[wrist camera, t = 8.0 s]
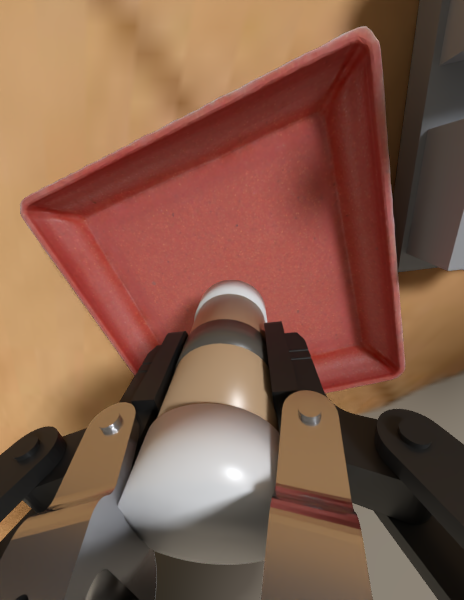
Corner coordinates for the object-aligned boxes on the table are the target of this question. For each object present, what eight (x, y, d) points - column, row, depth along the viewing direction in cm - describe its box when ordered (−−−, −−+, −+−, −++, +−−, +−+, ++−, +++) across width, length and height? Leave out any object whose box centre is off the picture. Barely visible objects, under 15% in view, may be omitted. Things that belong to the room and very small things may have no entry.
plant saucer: (54, 200, 15) (5, 204, 12) (346, 56, 11) (382, 8, 8) (179, 393, 22) (168, 426, 19) (381, 346, 18) (407, 377, 15)
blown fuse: (261, 275, 12) (293, 478, 4) (268, 333, 13) (300, 567, 5) (193, 284, 12) (85, 481, 4) (207, 339, 14) (149, 562, 6)
